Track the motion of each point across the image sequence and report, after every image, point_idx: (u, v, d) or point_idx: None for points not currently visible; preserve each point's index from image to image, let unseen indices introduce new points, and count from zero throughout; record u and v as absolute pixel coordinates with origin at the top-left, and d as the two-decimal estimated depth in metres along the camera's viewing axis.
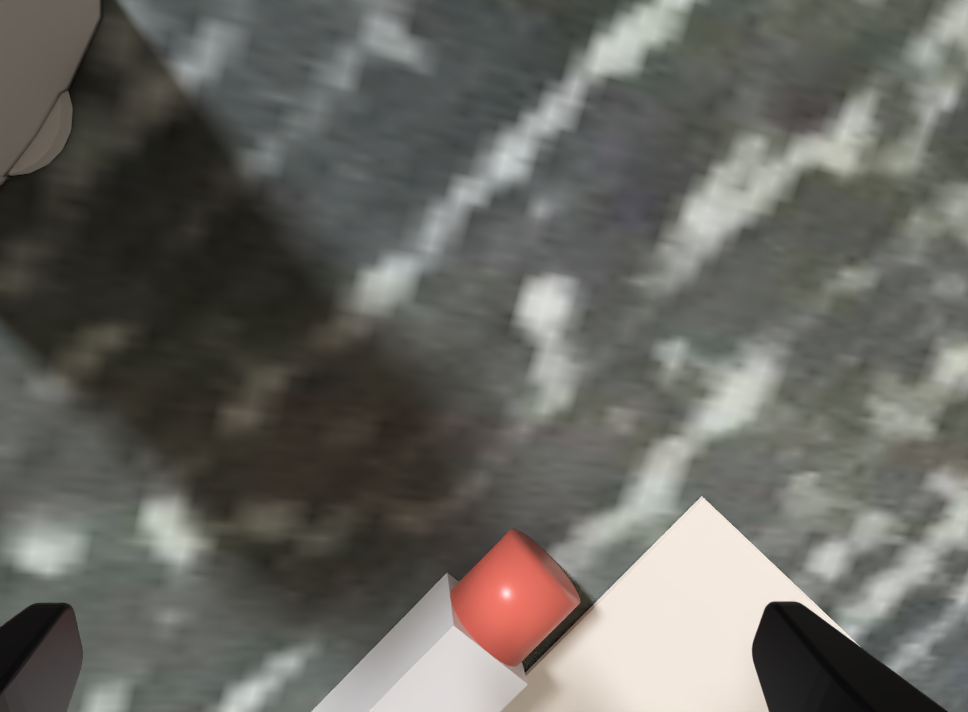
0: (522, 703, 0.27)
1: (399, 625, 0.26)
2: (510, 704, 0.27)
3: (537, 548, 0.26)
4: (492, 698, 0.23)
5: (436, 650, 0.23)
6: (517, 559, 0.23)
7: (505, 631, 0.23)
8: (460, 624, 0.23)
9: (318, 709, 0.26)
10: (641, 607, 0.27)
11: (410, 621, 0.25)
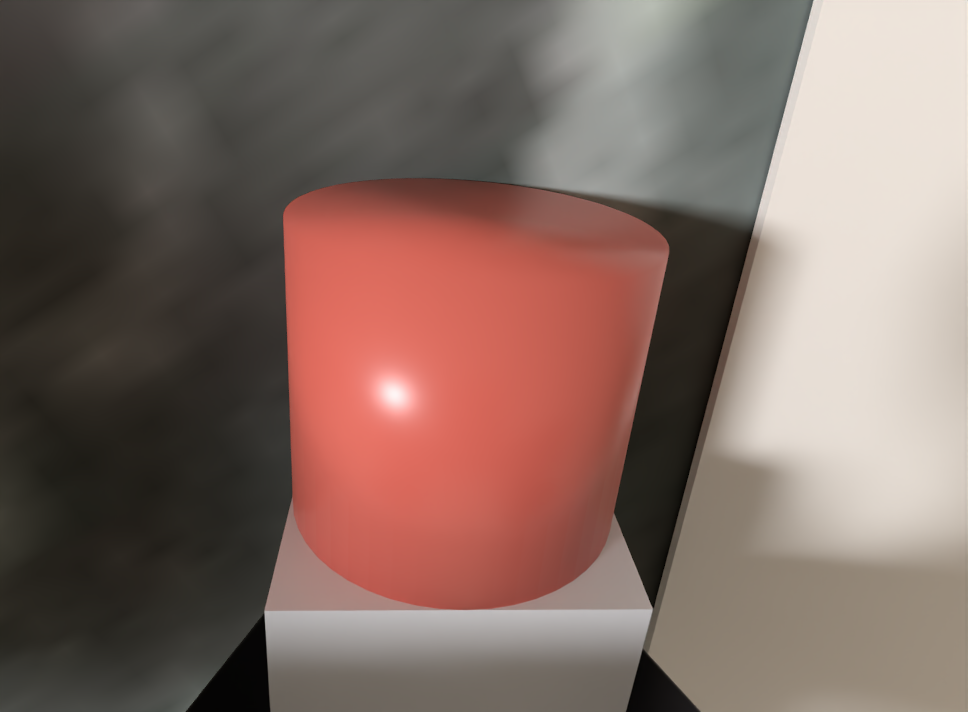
0: (723, 550, 0.10)
1: None
2: (696, 567, 0.10)
3: (464, 189, 0.07)
4: (574, 697, 0.07)
5: (291, 693, 0.06)
6: (309, 265, 0.05)
7: (447, 524, 0.06)
8: (317, 572, 0.06)
9: None
10: (906, 144, 0.08)
11: None
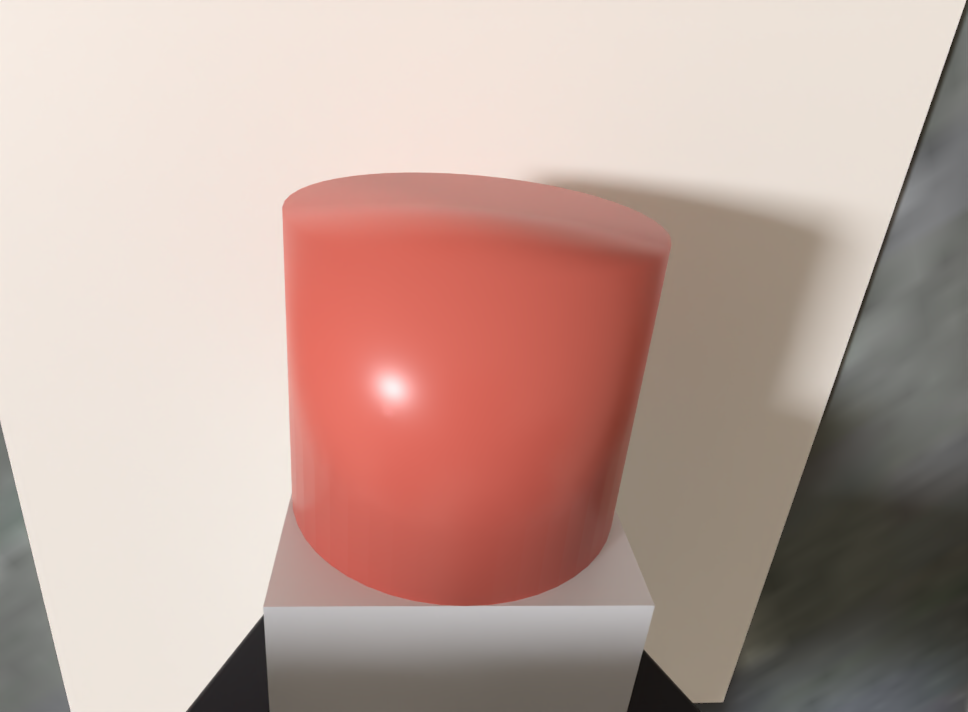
0: (42, 370, 0.10)
1: None
2: (19, 389, 0.10)
3: (465, 183, 0.07)
4: (575, 694, 0.07)
5: (289, 691, 0.06)
6: (307, 258, 0.05)
7: (446, 519, 0.06)
8: (316, 567, 0.06)
9: None
10: None
11: None
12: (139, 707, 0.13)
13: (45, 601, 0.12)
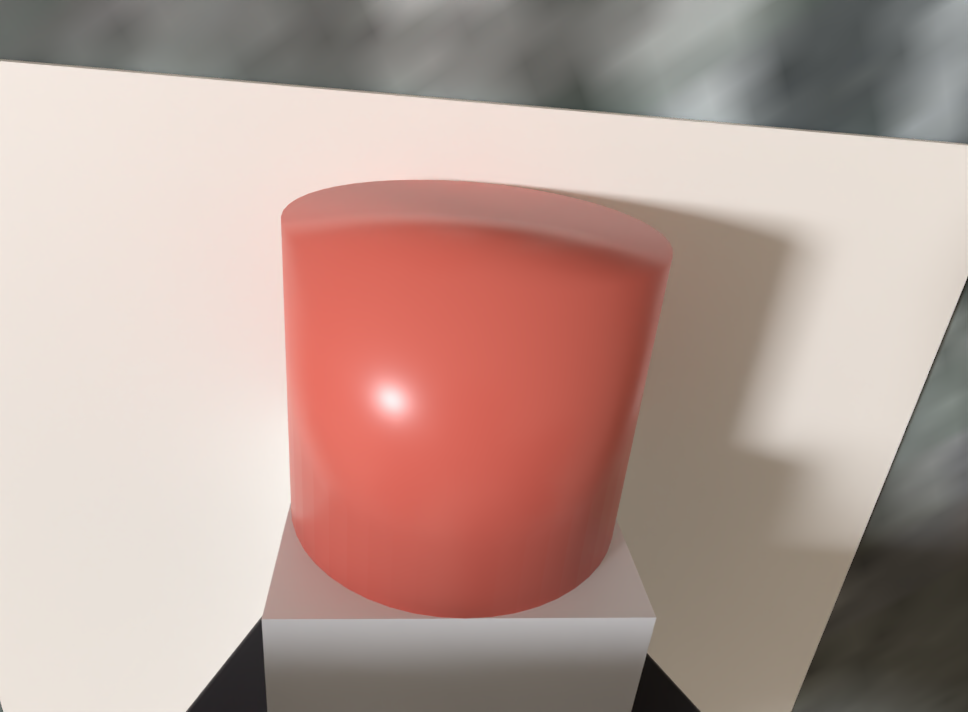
0: None
1: None
2: None
3: (465, 191, 0.07)
4: (576, 706, 0.07)
5: (289, 703, 0.06)
6: (307, 269, 0.05)
7: (447, 532, 0.06)
8: (314, 580, 0.06)
9: None
10: (49, 455, 0.09)
11: None
12: None
13: None
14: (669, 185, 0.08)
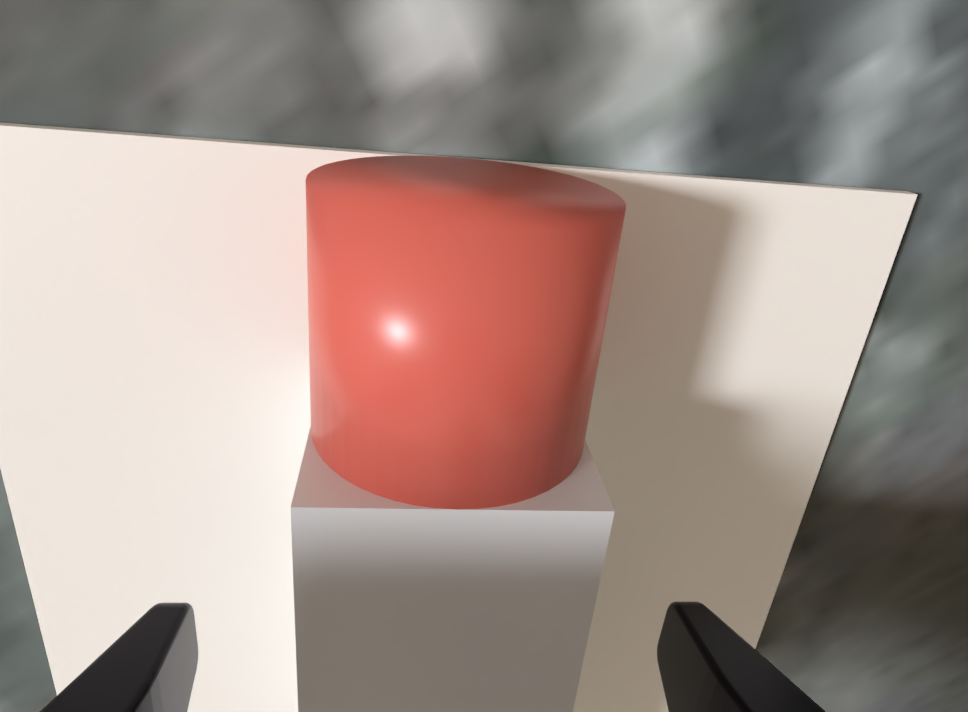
0: None
1: None
2: None
3: (457, 164, 0.09)
4: (550, 591, 0.08)
5: (312, 583, 0.08)
6: (329, 217, 0.07)
7: (441, 434, 0.07)
8: (333, 480, 0.08)
9: None
10: (98, 452, 0.10)
11: None
12: None
13: None
14: None
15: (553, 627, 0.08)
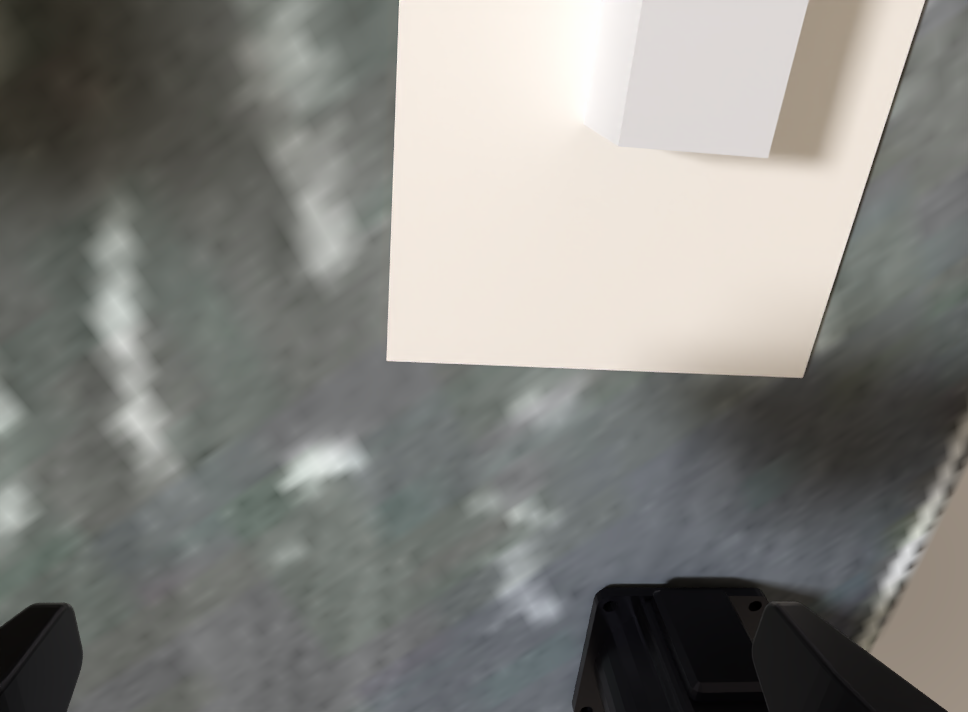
0: (426, 94, 0.17)
1: None
2: (411, 106, 0.17)
3: None
4: None
5: None
6: None
7: None
8: None
9: (592, 86, 0.17)
10: None
11: None
12: (429, 356, 0.20)
13: (390, 265, 0.19)
14: None
15: None
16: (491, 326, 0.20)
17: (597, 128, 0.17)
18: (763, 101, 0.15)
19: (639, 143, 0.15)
